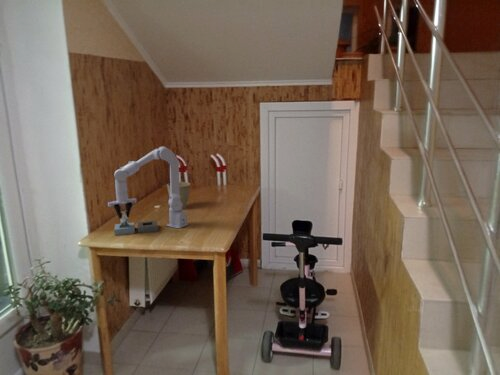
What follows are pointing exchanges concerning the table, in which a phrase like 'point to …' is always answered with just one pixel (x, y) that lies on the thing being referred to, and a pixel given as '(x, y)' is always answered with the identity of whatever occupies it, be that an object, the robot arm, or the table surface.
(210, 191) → the table surface
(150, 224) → the charcoal stand
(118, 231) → the block
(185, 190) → the plant pot
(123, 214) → the aluminium peg
